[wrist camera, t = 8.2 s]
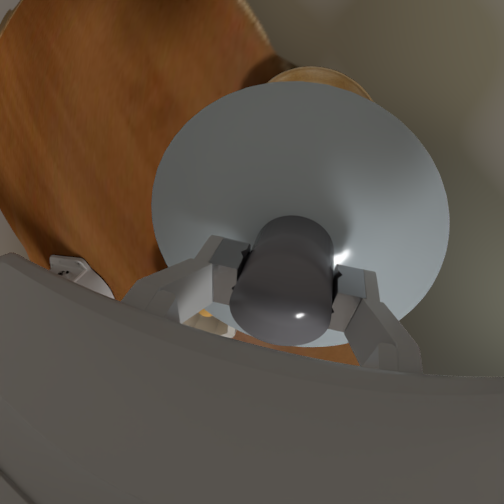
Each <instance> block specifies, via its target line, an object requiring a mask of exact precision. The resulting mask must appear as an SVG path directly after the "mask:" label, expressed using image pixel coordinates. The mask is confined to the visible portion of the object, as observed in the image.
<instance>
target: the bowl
mask: <svg viewBox="0 0 504 504" xmlns="http://www.w3.org/2000/svg"><path fill="white" fill-rule="evenodd" d="M182 324H184V325H188V326H191V327H194V328H197V329H200V330H204V331H207V332H210V333H214V334H217V335H221V336H224V337H228V338H232V337H234V336H235V333H236V330H237V329H235V328H233V327H230V326H229V325H227V324H225V323H224V322H222V321H220V320H219V319H217V318H216V317H214V316H210V317H205V316H202V315H201V314H199V313H197V314H195V315H194V316H192V317H191V318H189V319H188V320H186V321H185V322H183V323H182Z"/></svg>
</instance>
